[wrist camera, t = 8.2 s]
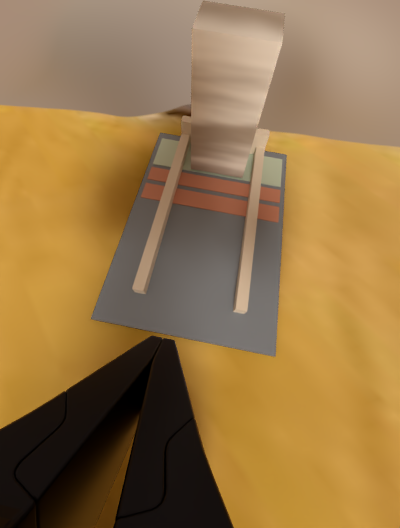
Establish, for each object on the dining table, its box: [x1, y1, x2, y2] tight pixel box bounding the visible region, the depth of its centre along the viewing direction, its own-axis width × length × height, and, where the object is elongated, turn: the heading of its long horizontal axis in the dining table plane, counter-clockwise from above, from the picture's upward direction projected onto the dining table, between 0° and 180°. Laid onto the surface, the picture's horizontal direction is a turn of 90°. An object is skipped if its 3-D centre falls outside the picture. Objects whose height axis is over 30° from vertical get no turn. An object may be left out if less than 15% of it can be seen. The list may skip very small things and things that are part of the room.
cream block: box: [191, 1, 285, 178], centre depth 21 cm, size 4×6×12 cm, turn 79°
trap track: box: [91, 116, 286, 356], centre depth 23 cm, size 24×16×3 cm
